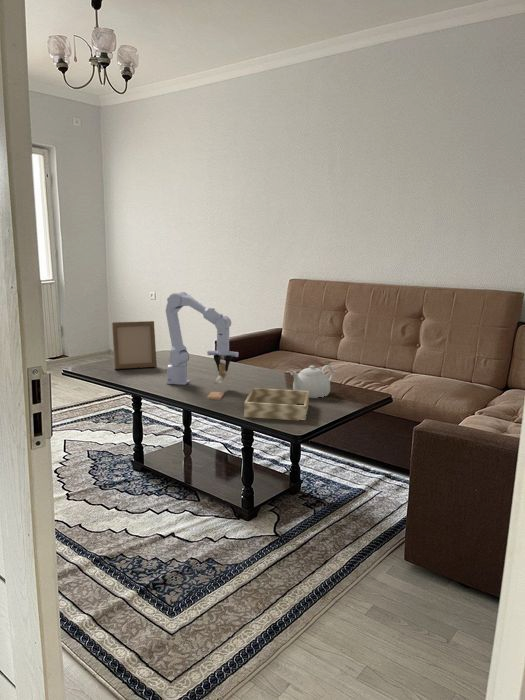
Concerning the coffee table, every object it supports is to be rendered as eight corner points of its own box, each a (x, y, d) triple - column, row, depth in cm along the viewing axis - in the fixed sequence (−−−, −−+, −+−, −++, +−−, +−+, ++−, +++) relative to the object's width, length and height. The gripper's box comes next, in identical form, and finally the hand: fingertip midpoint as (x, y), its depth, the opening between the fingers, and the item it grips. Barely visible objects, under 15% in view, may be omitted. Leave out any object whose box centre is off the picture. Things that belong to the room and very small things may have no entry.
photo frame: (156, 368, 295) (155, 322, 291) (115, 370, 288) (114, 323, 283) (152, 362, 309) (151, 319, 305) (112, 365, 301) (111, 320, 297)
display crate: (244, 416, 216) (244, 402, 215) (252, 401, 238) (252, 387, 237) (305, 420, 213) (306, 406, 212) (308, 404, 235) (308, 391, 234)
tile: (211, 394, 248) (207, 400, 240) (211, 391, 248) (207, 396, 239) (224, 395, 247) (220, 400, 239) (224, 392, 247) (220, 397, 239)
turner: (214, 383, 247) (214, 371, 245) (220, 374, 259) (220, 362, 257) (220, 383, 246) (220, 371, 245) (226, 374, 259) (226, 362, 257)
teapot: (330, 400, 241) (332, 371, 239) (289, 397, 244) (290, 368, 242) (332, 390, 259) (334, 362, 257) (294, 387, 262) (295, 360, 260)
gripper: (205, 343, 251) (205, 371, 254) (236, 344, 249) (236, 373, 252) (209, 340, 258) (209, 368, 261) (239, 342, 256) (239, 370, 259)
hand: (222, 370), depth 257 cm, fingers closed on turner, 3 cm apart
